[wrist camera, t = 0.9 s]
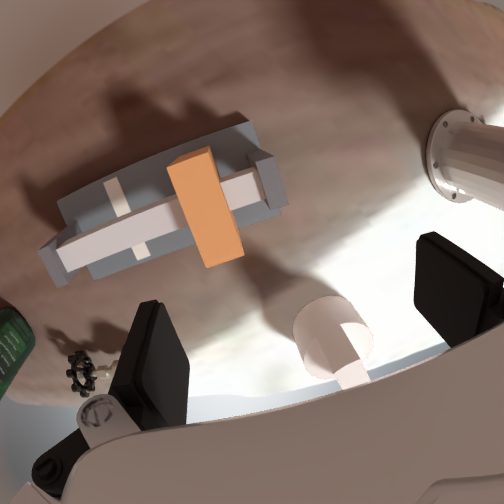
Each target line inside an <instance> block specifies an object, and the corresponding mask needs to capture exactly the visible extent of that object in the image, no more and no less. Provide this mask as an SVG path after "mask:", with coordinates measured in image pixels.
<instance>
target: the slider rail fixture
mask: <svg viewBox="0 0 504 504" xmlns="http://www.w3.org/2000/svg"><path fill="white" fill-rule="evenodd" d="M207 146H210V148H211V151H212V154H213V157H214V160H215V163H216V166H217V168H218V171H219V174H220V177H221V178H219V181H220V184H221V187H222V190H223V192H224V195H225V198H226V201H227V204H228V207H229V209H230V211H231V210H232V211H233V214H234V217H235V220H236V223H237V227H238V229H240V228H242V227H245V226H248V225H251V224H254V223H257V222H260V221H263V220H266V219H269V218H272V217H275V216H278V215H281V214H280V211H279V208H280V207H283V206H286V205H289V204H288V200H287V197H286V193H285V190H284V186H283V183H282V180H281V176H280V173H279V170H278V166H277V163H276V160H275V156H273V155H271V154H269V153H267V152H265V151H263V150H261V149H260V146H259V142H258V139H257V136H256V133H255V130H254V127H253V124H252V121H248V122H244V123H241V124H238V125H235V126H232V127H229V128H225V129H222V130H219V131H217V132H214V133H211V134H208V135H205V136H202V137H199V138H197V139H194V140H191V141H188V142H186V143H183V144H180V145H178V146H175V147H172V148H170V149H167V150H165V151H162V152H160V153H157V154H155V155H153V156H150V157H148V158H145V159H143V160H141V161H138V162H136V163H134V164H131V165H129V166H127V167H125V168H122V169H120V170H118V171H116V172H114V173H111V174H109V175H107V176H105V177H103V178H101V179H99V180H97V181H95V182H92V183H90V184H88V185H86V186H84V187H82V188H80V189H78V190H76V191H75V192H73V193H71V194H69V195H67V196H65V197H63V198H61V199H60V200H58V201H56V202H57V205H58V207H59V209H60V212H61V214H62V216H63V218H64V221H65V223H66V225H67V227H65V228H64V229H63V230H62V231H60V232H59V233H58V234H57V235H56V236H54V237H53V238H52V239H51V240H50V241H48V242H47V243H46V244H45V245H44V246H43V247H41V248H40V249H39V250H38V253H39V255H40V257H41V259H42V261H43V263H44V265H45V267H46V269H47V271H48V272H49V274H50V276H51V278H52V280H53V282H54V283H55V285H56V287H57V288H60V287H62V286H65V285H67V284H69V283H70V282H71V280H72V279H73V278H74V276H75V275H76V274H77V273H78V271H79V270H80V269H81V267H82V266H85V265H86V266H87V268H88V270H89V272H90V273H91V275H92V277H93V279H94V281H95V280H97V279H100V278H103V277H105V276H108V275H111V274H113V273H116V272H119V271H121V270H124V269H127V268H130V267H132V266H135V265H138V264H140V263H143V262H146V261H149V260H151V259H154V258H157V257H160V256H163V255H165V254H168V253H171V252H174V251H176V250H179V249H182V248H185V247H188V246H191V245H193V244H196V242H195V239H194V237H193V234H192V232H191V229H190V227H189V224H188V222H187V219H186V217H185V214H184V212H183V209H182V207H181V204H180V202H179V199H178V197H177V194H176V191H175V189H174V186H173V184H172V181H171V178H170V176H169V173H168V171H167V167H168V166H169V165H170V164H171V163H172V162H173V161H175V160H176V159H177V158H178V157H179V156H182V155H185V154H187V153H190V152H193V151H195V150H198V149H201V148H204V147H207Z"/></svg>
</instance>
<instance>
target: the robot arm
mask: <svg viewBox="0 0 504 504" xmlns="http://www.w3.org/2000/svg"><path fill="white" fill-rule="evenodd" d="M426 160H427V169H428V173H429V177H430V179H431V181H432V184H433V186H434V187H435V189H436V190H437V192H438V193H439V194H440V195H441V196H442V197H444V198H446V199H447V200H449V201H452V202H456V203H465V202H467V201H470V200H471V199H473V198H475V199H477V200H480V201H482V202H484V203H487V204H489V205H491V206H493V207H496V208H498V209H500V210H502V211H504V127H500V126H493V125H487V124H482V123H481V122H480V120H479V119H478V118H477V117H476V116H475V115H473V114H472V113H470V112H468V111H465V110H450V111H448V112H446V113H444V114H443V115H441V116H440V117H439V118H438V119H437V121H436V122H435V123H434V125H433V127H432V129H431V132H430V135H429V138H428V143H427V151H426ZM503 283H504V278H503V277H502V276H500V275H499V274H498V273H496V272H495V271H493V270H492V269H491V268H489V267H488V266H486V265H485V264H484V263H482V262H481V261H479V260H478V259H476V258H475V257H473V256H472V255H470V254H469V253H467V252H466V251H464V250H463V249H461V248H460V247H458V246H457V245H455V244H454V243H452V242H451V241H449V240H448V239H446V238H444V237H443V236H441V235H440V234H438V233H436V232H434V231H433V232H429V233H426V234H422V235H421V236H420V237H419V239H418V240H417V242H416V269H415V287H414V305H415V307H416V309H417V310H418V311H419V312H420V313H421V314H422V315H423V317H424V318H425V319H426V320H427V321H428V322H429V323H430V324H431V325H432V327H433V328H434V329H435V330H436V331H437V332H438V333H439V335H440V336H441V337H442V338H443V339H444V340H445V341H446V343H447V344H448V345H449V346H450V347H451V349H448V350H446V351H444V352H442V353H440V354H438V355H435V356H433V357H431V358H428V359H426V360H424V361H421V362H419V363H416V364H414V365H412V366H409V367H407V368H404V369H402V370H399V371H396V372H394V373H391V374H389V375H386V376H383V377H380V378H377V379H375V380H372V381H369V382H366V383H363V384H360V385H357V386H354V387H351V388H348V389H345V390H341V391H338V392H335V393H331V394H328V395H325V396H321V397H318V398H314V399H310V400H307V401H303V402H299V403H295V404H292V405H287V406H283V407H279V408H274V409H270V410H266V411H261V412H256V413H251V414H246V415H241V416H235V417H230V418H224V419H218V420H213V421H206V422H199V423H193V424H186V417H187V416H186V415H187V399H188V386H189V372H190V365H189V360H188V358H187V356H186V353H185V351H184V349H183V347H182V345H181V342H180V340H179V338H178V336H177V333H176V331H175V329H174V327H173V324H172V322H171V320H170V317H169V315H168V313H167V310H166V308H165V305H164V304H163V303H159V302H158V301H157V300H151V301H147V302H142V303H140V305H139V307H138V310H137V313H136V315H135V318H134V321H133V323H132V326H131V329H130V332H129V335H128V337H127V340H126V343H125V345H124V347H123V350H122V353H121V355H120V358H119V361H118V364H117V367H116V370H115V373H114V377H113V380H112V383H111V386H110V389H109V392H108V394H100V395H96V396H93V397H91V398H89V399H88V400H87V401H85V402H84V403H83V404H82V406H81V407H80V408H79V411H78V413H77V419H76V420H77V423H78V426H79V428H78V429H77V430H76V431H74V432H73V433H71V434H70V435H69V436H67V437H66V438H65V439H64V440H62V441H61V442H59V443H58V444H56V445H55V446H54V447H52V448H51V449H49V450H48V451H47V452H45V453H44V454H42V455H41V456H40V457H39V458H38V459H37V460H36V462H35V463H34V465H33V468H32V479H33V482H32V483H31V484H30V483H29V482H26V483H25V485H24V486H23V487H22V488H21V490H20V491H19V492H18V493H17V494H16V496H15V497H14V498H13V499H12V501H11V502H10V503H9V504H504V288H503Z"/></svg>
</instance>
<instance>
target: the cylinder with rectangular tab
mask: <svg viewBox="0 0 504 504" xmlns="http://www.w3.org/2000/svg"><path fill="white" fill-rule="evenodd" d="M292 328H293V336H294V339H295V341H296V344H297V347H298V349H299V352H300V355H301V358H302V360H303V363H304V365H305V368H306V370H307V371H308V372H309V373H310V374H311V375H312V376H314V377H317V378H321V379H335V378H336V379H337V381H338V383H339V384H340V386H341V387H342V389H343V390H345V389H348V388H351V387H354V386H357V385H360V384H363V383H366V382H369V381H370V378H369V376H368V374H367V372H366V370H365V367H364V365H363V363H364V362H365V361H366V359H367V358H368V356H369V355H370V353H371V351H372V348H373V343H374V338H373V334H372V332H371V331H370V329H369V328H368V326H367V325H366V323H365V322H364V321H363V319H362V318H361V316H360V315H359V313H358V312H357V311H356V309H355V308H354V306H353V305H352V304H351V302H349V301H348V300H347V299H345V298H343V297H340V296H325V297H320V298H318V299H316V300H313V301H312V302H310V303H309V304H307V305H306V306H304V308H303V309H302V310H301V311H300V312H299V313H298V315H297V316H296V318H295V320H294V323H293V327H292Z"/></svg>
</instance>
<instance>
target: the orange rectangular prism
mask: <svg viewBox="0 0 504 504" xmlns="http://www.w3.org/2000/svg"><path fill="white" fill-rule="evenodd" d="M167 171H168V173H169V176H170V178H171V181H172V184H173V186H174V189H175V191H176V194H177V197H178V199H179V202H180V204H181V207H182V209H183V212H184V214H185V217H186V219H187V222H188V224H189V227H190V229H191V232H192V234H193V237H194V239H195V242H196V244H197V246H198V249H199V251H200V254H201V256H202V259H203V261H204V263H205V266H206V268H209V267H212V266H215V265H218V264H221V263H224V262H226V261H229V260H232V259H235V258H238V257H241V256H244V251H243V247H242V243H241V239H240V235H239V231H238V227H237V223H236V220H235V217H234V214H233V211H232V210H231V211H230V209H229V207H228V204H227V201H226V198H225V195H224V192H223V190H222V187H221V184H220V181H219V178H221V177H220V174H219V171H218V168H217V166H216V163H215V160H214V157H213V154H212V151H211V148H210V146H207V147H204V148H201V149H198V150H195V151H193V152H190V153H187V154H185V155H182V156H179V157H178V158H177V159H176V160H175V161H173V162H172V163H171V164H170V165H169V166H168V167H167Z"/></svg>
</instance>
